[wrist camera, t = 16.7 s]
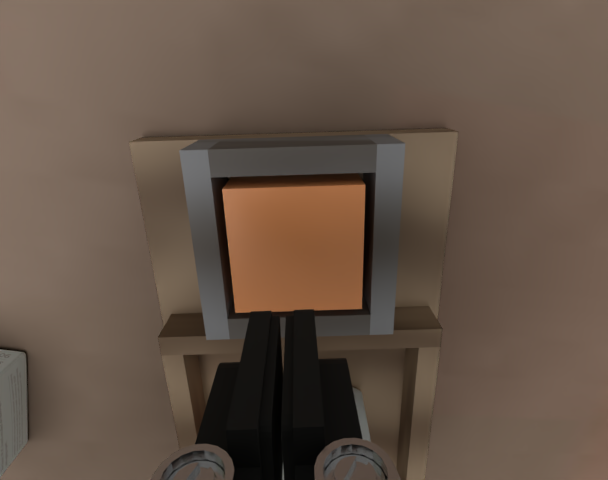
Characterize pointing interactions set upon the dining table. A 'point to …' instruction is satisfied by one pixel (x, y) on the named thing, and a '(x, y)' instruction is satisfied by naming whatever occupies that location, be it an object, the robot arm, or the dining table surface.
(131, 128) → the dining table surface
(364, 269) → the tray
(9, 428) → the supplement box
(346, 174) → the button
